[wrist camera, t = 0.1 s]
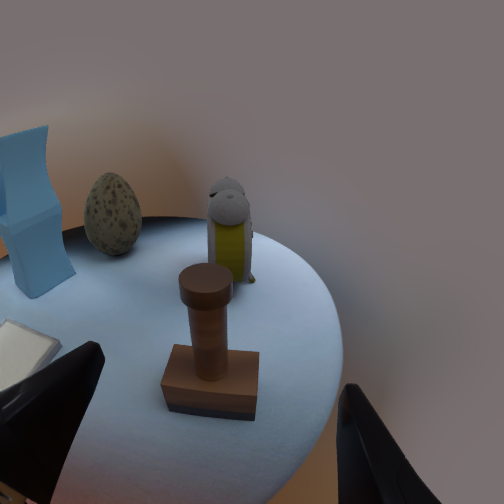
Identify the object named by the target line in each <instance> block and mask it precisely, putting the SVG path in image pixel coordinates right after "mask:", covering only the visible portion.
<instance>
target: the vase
mask: <svg viewBox="0 0 504 504" xmlns="http://www.w3.org/2000/svg"><path fill="white" fill-rule="evenodd" d="M47 133H48V125H46V126H42V127H38V128H33V129H30V130H25V131H22V132H18V133H14V134H11V135H7V136H4V137H0V235H1V238H2V240H3V242H4V244H5V246H6V249H7V252H8V254H9V257H10V261H11V264H12V269H13V273H14V278H15V284H16V285H17V286H18V287H19V288H20V289H21V290H22V291H23V292H24V293H25V294H26V295H27V296H28V297H29V298H37V297H39V296H41V295H42V294H44V293H45V292H47V291H49V290H50V289H52V288H53V287H55V286H56V285H58V284H60V283H61V282H63V281H64V280H66V279H68V278H69V277H71V276H72V275H74V274H76V272H75V270H74V269H73V267H72V265H71V263H70V261H69V259H68V257H67V254H66V252H65V249H64V245H63V239H62V223H61V221H62V209H61V204H60V202H59V200H58V198H57V196H56V194H55V192H54V190H53V188H52V185H51V183H50V180H49V177H48V173H47V169H46V157H45V156H46V140H47Z"/></svg>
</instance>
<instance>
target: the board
mask: <svg viewBox="0 0 504 504" xmlns="http://www.w3.org/2000/svg"><path fill="white" fill-rule="evenodd" d="M61 347H62V345H61V343H60V341H59V340H58V339H55V338H53V337H50V336H48V335H45V334H43V333H41V332H38V331H36V330H34V329H31V328H29V327H27V326H25V325H22V324H20V323H18V322H16V321H14V320H12V319H10V318H6V319H5V320H4V322H3V323H2V324H1V325H0V391H2V390H4V389H6V388H8V387H10V386H12V385H14V384H15V383H17V382H19V381H21V380H23V379H24V378H26V377H28V376H29V375H31V374H33V373H34V372H36V371H38V370H40V369H41V368H43V367H45V366H46V365H48V364H49V362H50V361H51V360H52V358H53V357H54V356H55V354H56V353H57V352H58V350H59V349H60V348H61Z"/></svg>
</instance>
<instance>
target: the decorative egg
mask: <svg viewBox="0 0 504 504" xmlns="http://www.w3.org/2000/svg"><path fill="white" fill-rule="evenodd" d="M141 222H142V218H141V210H140V206H139V203H138V200H137V198H136V196H135V193H134V192H133V190H132V188H131V187H130V185H129V184H128V183H127V182H126V181H125V180H124V179H123V178H122V177H120V176H119V175H117V174H115V173H105V174H103V175H102V176H100V177H99V178H98V179H97V180H96V182H95V183H94V184H93V186H92V188H91V190H90V192H89V194H88V197H87V200H86V204H85V209H84V227H85V231H86V234H87V237H88V239H89V240H90V242H91V243H92V245H93V246H94V247H95V248H96V249H98V250H99V251H100V252H102V253H105V254H107V255H119V254H122V253H125V252H126V251H128V250H129V249H130V248H131V247H132V246H133V245H134V244H135V242H136V240H137V238H138V236H139V234H140V230H141Z"/></svg>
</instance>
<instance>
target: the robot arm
mask: <svg viewBox="0 0 504 504" xmlns="http://www.w3.org/2000/svg"><path fill="white" fill-rule="evenodd" d="M104 363H105V357H104V354H103V352H102V349H101V347H100V345H99V344H98V343H96V342H93V341H88V342H86V343H85V344H83V345H81V346H79V347H78V348H76V349H74V350H72V351H71V352H69V353H67V354H65V355H64V356H62V357H60V358H59V359H57V360H55V361H53V362H52V363H50V364H48V365H46V366H45V367H43V368H41V369H40V370H38V371H36V372H34V373H33V374H31V375H29V376H28V377H26V378H24V379H23V380H21V381H19V382H17V383H15V384H14V385H12V386H10V387H8V388H6V389H4V390H2V391H0V504H27V502H25V501H26V499H27V498H28V499H30V500H32V501H34V502H36V503H37V504H50V502H51V499H52V496H53V493H54V490H55V487H56V484H57V481H58V479H59V476H60V473H61V470H62V468H63V465H64V462H65V460H66V457H67V455H68V452H69V450H70V447H71V445H72V442H73V440H74V437H75V435H76V433H77V430H78V428H79V426H80V423H81V421H82V419H83V417H84V414H85V412H86V410H87V408H88V405H89V403H90V401H91V399H92V397H93V394H94V392H95V389H96V386H97V383H98V380H99V377H100V374H101V372H102V369H103V366H104ZM336 445H337V464H338V500H339V501H338V504H442V503H441V502H440V501H439V500H438V499H437V498H436V497H435V496H434V494H433V493H432V492H431V491H430V489H428V487H427V486H426V485H425V484H424V482H423V481H422V480H421V479H420V477H419V476H418V475H417V473H416V472H415V470H414V469H413V467H412V466H411V464H410V463H409V461H408V460H407V459H406V458H405V455H404V454H403V452H402V451H401V449H400V448H399V446H398V444H397V443H396V441H395V440H394V438H393V437H392V435H391V434H390V432H389V431H388V429H387V428H386V426H385V425H384V423H383V422H382V420H381V419H380V417H379V416H378V414H377V412H376V411H375V410H374V408H373V406H372V405H371V404H370V402H369V400H368V399H367V398H366V396H365V394H364V393H363V391H362V390H361V388H360V387H359V386H358V385H357V384H346V385H345V386H344V388H343V390H342V393H341V395H340V397H339V401H338V419H337V436H336Z"/></svg>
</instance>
